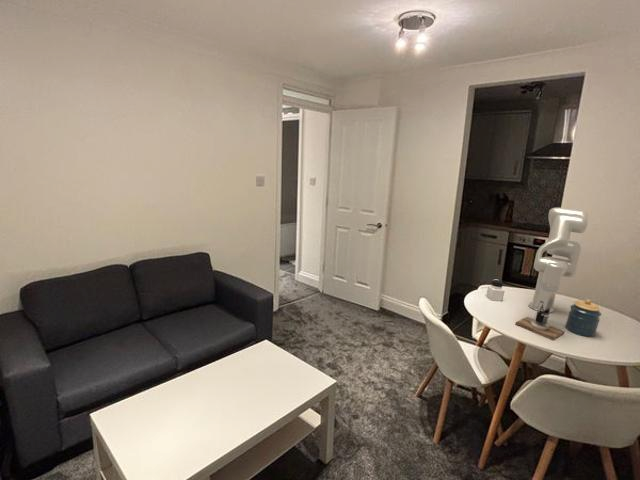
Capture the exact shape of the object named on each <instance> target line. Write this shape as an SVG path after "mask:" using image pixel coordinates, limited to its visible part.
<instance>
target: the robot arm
mask: <svg viewBox="0 0 640 480" xmlns="http://www.w3.org/2000/svg"><path fill="white" fill-rule="evenodd" d="M548 223H549V229H550V230H549V233H548V234H549V235H548V239H547V241H546V242H545V243H543V244H541V246H539V248H538V249H537V252H536V253H535V258H534V263H533V269H534V270H535V271H537V272H538V275H537V276H538V277H537V280H536V285H535V289H534V294H533V298H532V302H529V303H528V307H529V308H531V309H532V310H534V311H536V315H535V319H534V320H535V321H538V322H540V323H542V322H543V318H544V312H546V313H548V314H549V315H550V314H552V313H553V312H554V308H553V306H554V304H555V299H556V294H557V293H558V292H559V287H560V284H561V280H562V277H565V278H573V277H574V276H575V274H576V272H577V268H578V264H579V259H580V256H581V250H582V248H581V244H580V243H579V242H577V241H574V240H573V241H572V240H570V237H571V233H576V234H577V233H578V234H583V233H585V232H586V230H587V227H588V213H587V211H585V210H583V209H581V210H580V209H573V208H567V207H552V208H550V209H549V211H548ZM544 252H547V254H549V255H552V256H543V254H544ZM554 256H557V257H554ZM558 257H563V258H567V259H563V258H558ZM542 311H543V312H542Z"/></svg>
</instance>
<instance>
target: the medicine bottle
mask: <svg viewBox="0 0 640 480" xmlns="http://www.w3.org/2000/svg"><path fill="white" fill-rule="evenodd" d="M503 285H504V282H503V281H502V280H500V279H492V280H491V284H490V285H487V289H486V294H485V296H486V297H487V298H488V299H489V300H490V301H493V302H495V301H496V302H503V299H504V295H505V289H504V288H503Z"/></svg>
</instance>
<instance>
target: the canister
mask: <svg viewBox="0 0 640 480" xmlns="http://www.w3.org/2000/svg"><path fill="white" fill-rule="evenodd" d="M569 307H570V310H569V311H568V315H567V318H566V322H565V329H567V330H568V331H569V332H571V333H574V334H576V335H579V336H583V337H588V338H589V337H594V336H596V334H597V329H598V326H599V322H600V317H601V315H602V312H600V311H601V307H599V306H598V305H597V304H596V303H593V302H592V300H591V299H588V298H587V299H585V300H581V299H580V300H575V301H573V304H571V305H570V306H569Z"/></svg>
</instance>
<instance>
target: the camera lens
mask: <svg viewBox="0 0 640 480" xmlns="http://www.w3.org/2000/svg"><path fill="white" fill-rule="evenodd" d="M542 312H543V311H542ZM549 315H550V313H549V314H548V313H546V312H544V318H543V322H542V323H540V322H538V321H536V322H537V323H540V324H548V319H549Z"/></svg>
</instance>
